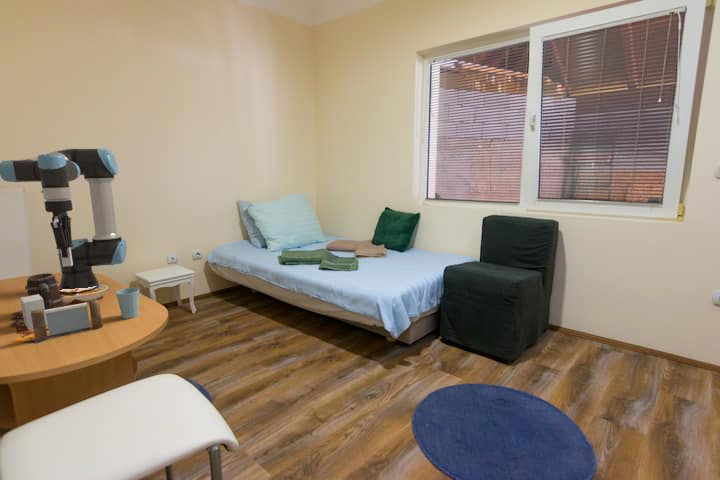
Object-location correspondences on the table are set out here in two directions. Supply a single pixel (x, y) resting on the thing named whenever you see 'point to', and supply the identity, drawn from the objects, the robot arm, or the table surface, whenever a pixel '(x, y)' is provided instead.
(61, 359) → the table surface
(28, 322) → the small box
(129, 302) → the cup
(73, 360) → the table surface
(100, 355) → the table surface
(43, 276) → the mug
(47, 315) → the white thick panel
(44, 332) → the posts
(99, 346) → the table surface
